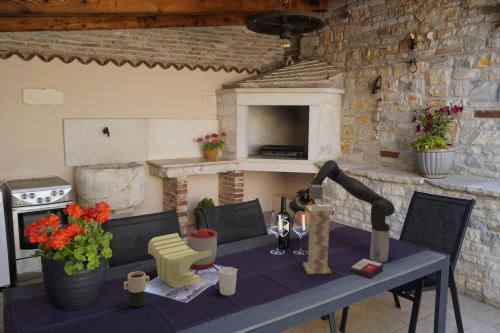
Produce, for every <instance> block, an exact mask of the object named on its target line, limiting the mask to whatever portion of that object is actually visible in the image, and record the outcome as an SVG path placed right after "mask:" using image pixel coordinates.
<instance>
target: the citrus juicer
mask: <svg viewBox="0 0 500 333" xmlns="http://www.w3.org/2000/svg"><path fill="white" fill-rule="evenodd" d="M186 236H187V237H186V238H187V239H186V242H187V243H186V245H187V246H188V247H189V248H190V249H192V250H194V251H195V252H196V251H197V252H202V251H207V250H211V256H207V257H204V258H201V259H199V260H197V261H195V262H194V263H193V264H192V265H191V266H190V267H192V266H193V267H192V268H195V269H198V268H200V269H208V268H210V267H212V266H214V263H215V262H216V261H215V260H216V256H217V248H218V245H217V242H218V241H217V240H218V232H217V230H214V229H211V228H210V229H209V228H204V227H203V226H202V227H200V228H199V229H198V230H197V231H196V233H195V232H194V231H193V230H191V229H190V230H188V231H187V232H186Z"/></svg>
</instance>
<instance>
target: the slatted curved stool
mask: <svg viewBox="0 0 500 333" xmlns="http://www.w3.org/2000/svg"><path fill="white" fill-rule="evenodd" d="M147 254H149V255H151V256H153V257H154V259H155V262H156V269H157V277H158V278H159V279H161V280H162V281H163V282H165V283H166V284H167V285H169V286H170V287H173V288H174V289H178V288H182V287H184V286H188V285H191V284H196V283H199V282H201V278H200V277H201V276H199V275H198V274H196V273H194V272H193V271H191V270H190V268H191V267H192V266H191V265H192V264H193V263H194V262H195V261H197V260H199V259H201V258H204V257H207V256H211V250H207V251H202V252H197V251H196V252H195V251H194V250H192V249H190V248H189V247H188V246H187V244H186V243H185V241H184V240H183V239H182V237H180V235H179V233H178V232H175V233H170V234H166V235H160V236H155V237H152V238H151V239H150V240H149V242H148V245H147Z"/></svg>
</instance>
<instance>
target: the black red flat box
mask: <svg viewBox="0 0 500 333" xmlns="http://www.w3.org/2000/svg"><path fill="white" fill-rule="evenodd" d="M383 269H384V264H383V263H382V262H375V261H372V260H371V259H366V258H362V259H361V260H359V261H358V262H357V263H355V264H353V265H352V266H351V267H350V269H349V273H350V274H352V273H353V275H356V276H359V277H363V278H366V279H369V280H371V279H373V278H374V277H376V276H377V275H378V274H379V273H382V272H383V271H384V270H383Z"/></svg>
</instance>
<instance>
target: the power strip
mask: <svg viewBox="0 0 500 333" xmlns="http://www.w3.org/2000/svg"><path fill="white" fill-rule="evenodd" d="M311 205H312V209H311V210H312V211H333V210H334V206H333V205H332V204H317V203H313V204H311Z"/></svg>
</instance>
